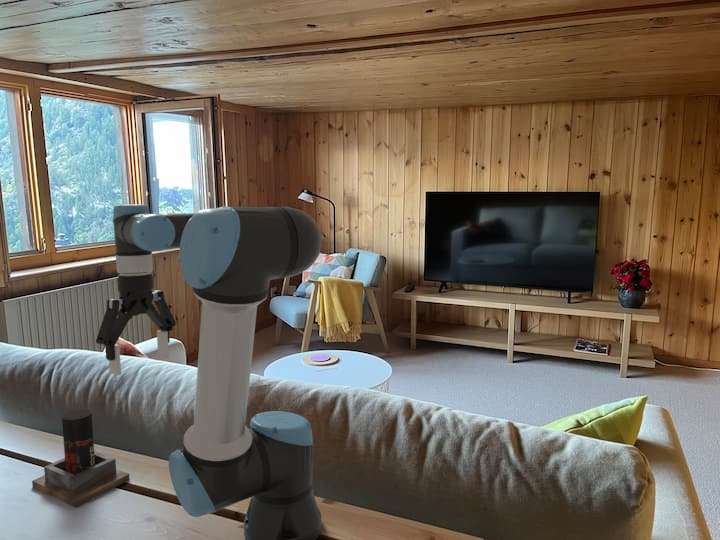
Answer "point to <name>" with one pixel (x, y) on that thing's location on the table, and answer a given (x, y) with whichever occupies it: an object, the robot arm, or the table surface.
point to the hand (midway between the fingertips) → (140, 365)
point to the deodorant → (78, 440)
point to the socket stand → (80, 480)
